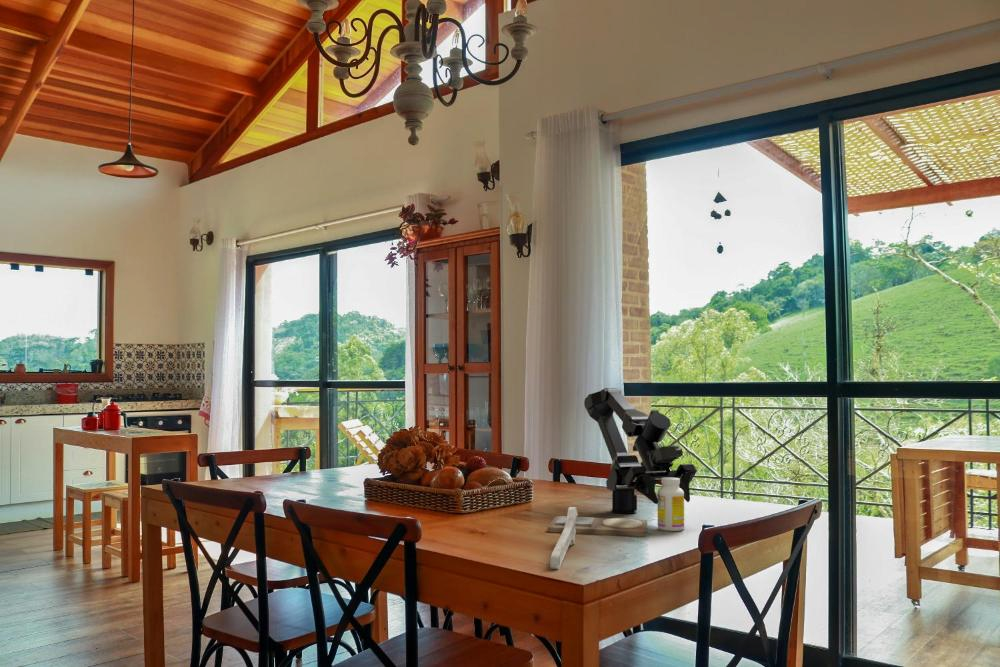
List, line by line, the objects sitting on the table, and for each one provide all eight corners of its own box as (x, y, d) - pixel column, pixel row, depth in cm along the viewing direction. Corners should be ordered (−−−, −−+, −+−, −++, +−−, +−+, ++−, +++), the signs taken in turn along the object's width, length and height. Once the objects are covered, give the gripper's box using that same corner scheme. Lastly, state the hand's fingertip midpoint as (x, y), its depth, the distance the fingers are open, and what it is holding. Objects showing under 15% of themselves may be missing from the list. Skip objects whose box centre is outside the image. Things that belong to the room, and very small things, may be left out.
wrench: (550, 583, 170) (570, 536, 199) (558, 584, 170) (578, 537, 199) (549, 545, 170) (570, 503, 199) (558, 545, 169) (577, 504, 198)
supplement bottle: (686, 528, 213) (686, 477, 213) (681, 532, 207) (680, 480, 207) (661, 525, 216) (660, 475, 216) (654, 530, 210) (654, 479, 210)
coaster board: (547, 532, 207) (548, 524, 207) (555, 520, 222) (555, 513, 222) (645, 536, 202) (645, 529, 202) (647, 524, 217) (647, 517, 217)
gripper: (629, 435, 213) (652, 484, 202) (692, 433, 219) (717, 480, 209) (615, 462, 220) (636, 511, 209) (677, 459, 226) (700, 507, 216)
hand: (673, 502), depth 211 cm, fingers open, 9 cm apart
